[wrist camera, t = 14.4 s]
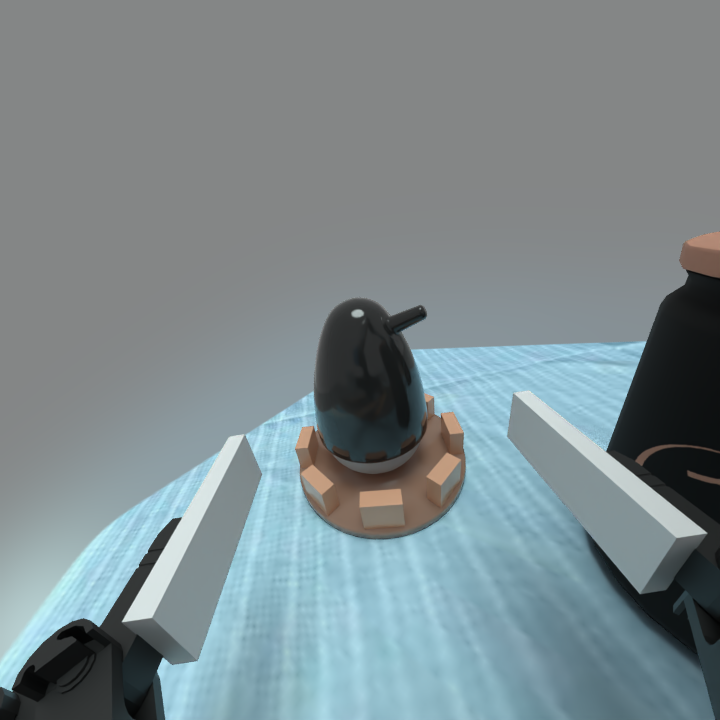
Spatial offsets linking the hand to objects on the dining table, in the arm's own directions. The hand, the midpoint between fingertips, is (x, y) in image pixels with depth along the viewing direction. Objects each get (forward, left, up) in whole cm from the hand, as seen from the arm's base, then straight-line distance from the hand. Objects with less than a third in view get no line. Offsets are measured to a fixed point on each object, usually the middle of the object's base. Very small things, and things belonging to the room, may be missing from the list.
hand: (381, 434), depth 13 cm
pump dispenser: (+1, -9, -10) cm, 14 cm away
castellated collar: (+1, -9, -11) cm, 15 cm away
